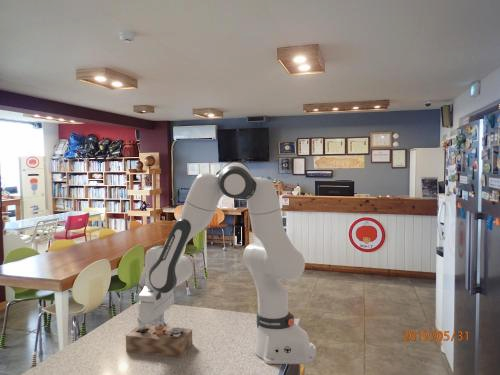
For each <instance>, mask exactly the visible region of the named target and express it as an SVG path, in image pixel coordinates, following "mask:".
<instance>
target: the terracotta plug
mask: <svg viewBox="0 0 500 375" xmlns="http://www.w3.org/2000/svg"><path fill="white" fill-rule="evenodd" d="M164 326H165V323H164V324H162V325H160V326H159V327H155V325H154V329H155V330H156V335H162V334H163V328H164Z"/></svg>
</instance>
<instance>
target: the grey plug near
mask: <svg viewBox="0 0 500 375" xmlns="http://www.w3.org/2000/svg"><path fill="white" fill-rule="evenodd" d="M175 327H176V326H175ZM181 328H182V327H176V328H173V329H172V333H173V336H175V337H180V336H181V332H182V329H181Z"/></svg>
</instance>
